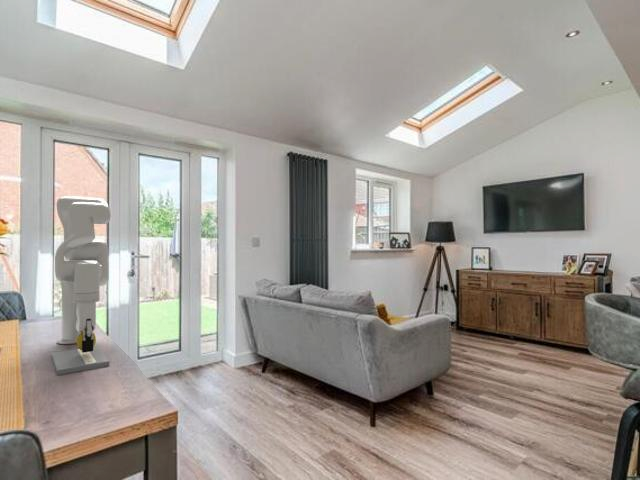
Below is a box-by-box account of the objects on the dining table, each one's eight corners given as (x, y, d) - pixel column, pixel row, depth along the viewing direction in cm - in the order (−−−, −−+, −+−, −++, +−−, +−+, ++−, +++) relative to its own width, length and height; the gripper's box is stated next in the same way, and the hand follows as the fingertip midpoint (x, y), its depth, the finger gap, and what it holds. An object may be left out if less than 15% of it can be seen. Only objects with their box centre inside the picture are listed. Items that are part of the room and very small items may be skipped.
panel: (51, 356, 130) (51, 352, 130) (97, 349, 139) (97, 345, 139) (57, 375, 111) (57, 370, 111) (109, 365, 120) (109, 361, 120)
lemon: (99, 351, 128) (99, 328, 128) (83, 355, 123) (83, 331, 123) (89, 349, 130) (89, 326, 130) (73, 353, 125) (73, 330, 125)
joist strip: (77, 349, 134) (77, 349, 134) (86, 348, 136) (86, 347, 136) (85, 364, 117) (85, 363, 117) (96, 362, 119) (96, 361, 119)
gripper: (71, 295, 131) (70, 346, 131) (77, 301, 118) (76, 357, 118) (95, 294, 136) (94, 342, 136) (103, 299, 123) (103, 353, 122)
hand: (86, 349), depth 127 cm, fingers closed on lemon, 5 cm apart
